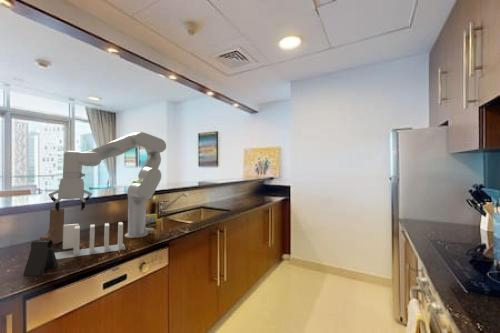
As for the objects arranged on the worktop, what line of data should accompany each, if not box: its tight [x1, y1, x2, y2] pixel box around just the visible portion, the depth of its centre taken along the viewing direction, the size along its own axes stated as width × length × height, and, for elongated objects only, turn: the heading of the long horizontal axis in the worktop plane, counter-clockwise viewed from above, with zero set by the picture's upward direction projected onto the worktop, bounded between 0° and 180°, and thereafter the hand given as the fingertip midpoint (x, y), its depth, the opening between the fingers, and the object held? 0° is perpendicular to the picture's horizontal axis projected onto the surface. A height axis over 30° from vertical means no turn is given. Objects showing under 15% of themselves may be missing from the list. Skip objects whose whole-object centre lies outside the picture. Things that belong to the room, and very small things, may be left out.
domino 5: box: [117, 221, 124, 249], centre depth 122 cm, size 2×6×12 cm, turn 32°
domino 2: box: [73, 225, 81, 255], centre depth 112 cm, size 2×6×12 cm, turn 32°
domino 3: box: [88, 224, 96, 253], centre depth 115 cm, size 2×6×12 cm, turn 32°
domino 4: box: [103, 222, 110, 251], centre depth 118 cm, size 2×6×12 cm, turn 32°
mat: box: [54, 243, 126, 260], centre depth 115 cm, size 30×10×1 cm, turn 122°
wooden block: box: [39, 207, 65, 245], centre depth 126 cm, size 9×4×18 cm, turn 167°
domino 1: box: [62, 223, 80, 250], centre depth 119 cm, size 2×6×12 cm, turn 122°
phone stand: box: [22, 239, 59, 277], centre depth 93 cm, size 9×6×12 cm, turn 1°
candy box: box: [145, 213, 158, 228], centre depth 165 cm, size 16×2×8 cm, turn 137°
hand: (70, 210), depth 119 cm, fingers open, 9 cm apart
